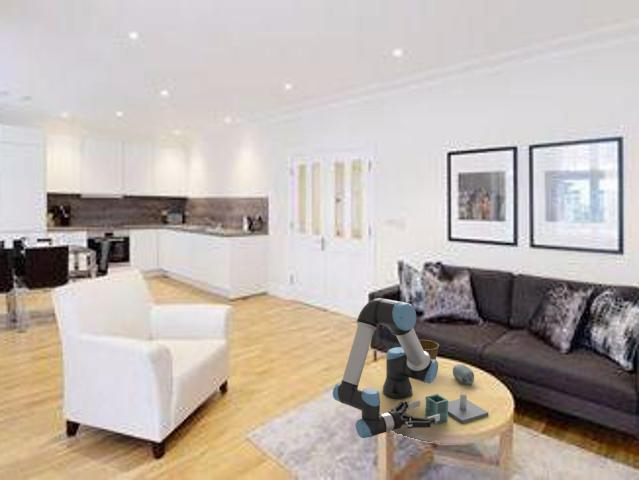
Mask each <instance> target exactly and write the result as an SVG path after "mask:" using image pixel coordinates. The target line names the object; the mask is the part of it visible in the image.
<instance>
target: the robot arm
mask: <svg viewBox="0 0 639 480" xmlns="http://www.w3.org/2000/svg"><path fill="white" fill-rule="evenodd" d="M416 323H417V313H416V310H415V307H414V306H413V305H412V304H411V303H408V302H405V301H398V300H395V299H394V300H392V299H387V298H383V297H376V298H374V299H371V300H369V302H367V303H366V304H365V305H364V306H363V308H362V309H361V311H360V312H359V315H358V316H357V319H356V324H357V326H356V327H357V328H356V331H355V335H354V339H353V342H352V344H351V348H350V351H349V355H348V359H347V362H346V365H345V369H344V373H343V375H342V379H341V382H339V383H336V384H335V385H334V387H333V389H332V397H333V399H334V400H335V401H337V402H339V403H341V404H343V405H347V406H349V407H352V408H354V409H357V410H358V411H361V418H360V419H357V420H356V423H355V430H356V433H357V435H358V436H359V437H360V438H362V439H367V438H372V437H375V436H377V435H380V434H384V433H388V432H392V431H395V430H399V429H401V428H402V426H403V425H405V426H407V428H408V429H416V428H417V429H422V428H423V429H424V428H425V429H429V428H431V424H434V422H436V421H440V414H437V415H433V416H430V417H427V418H425V417H424V418H423V417H418V416H413V415H410V414H408V413H407V410H412V409H417V408H420V407H421V401H420V400H415V401H412V402H408V401H400V402H399V403H398V404H397V405H395V406H394V407H392V408H390V411H387V412H383V413H381V399H380V395H381V394H380V392H379V390H378V389H376V388H373V387H372V388H370V387H367V388H364V389H363V390H360V389H358V388H359V383H360V380H361V377H362V374H363V371H364V367H365V363H366V360H367V357H368V353H369V349H370V346H371V343H372V338H373V336H374V332H375V331H376V330H377V329H378V326H379V325H381V326H386V327H387V328H388V330H389V332H390V333H391V334H392V335H394V336H396V338H397V340H398V342H399V345H400V346H398V347H392V348H390V349H388V350H387V352H386V361H385V363H386V368H385V370H386V373H385V374H386V377H385V381H384V384H383V386H382V393H383V394H384V396H386V397H388V398H391V399H396V400H404V399H408V398H411V396H413V387H412V383H411V380H410V379H413V380H417V381H419V382H422V383H424V384H425V383H427V384H432V383H434V382H435V379H436V378H437V375H438V372H439V362H438V360H435V359H431V358H430V356H429V354H428V353H427V352H426V351H424V350H423V348H422V346H421V344H420V342H419V340H420V339H419V337H418V335H417V334H416V331H415V329H414V327H415V325H416Z"/></svg>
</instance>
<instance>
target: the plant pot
mask: <svg viewBox="0 0 639 480" xmlns="http://www.w3.org/2000/svg"><path fill="white" fill-rule="evenodd" d="M418 340H419V342H420V344H421V346H422V348H423V350H424V351H426V352H427V353H428V354H429V356H430V358H431V359H435V360H436V359H437V356H438V354H439V353H438V352H439V346H440V344H439V343H438V342H436V341H433V340H431V339H430V340H427V339H418ZM436 361H437V360H436Z"/></svg>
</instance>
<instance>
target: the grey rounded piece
mask: <svg viewBox="0 0 639 480" xmlns="http://www.w3.org/2000/svg"><path fill="white" fill-rule="evenodd" d="M452 375H453V377H454V378H455V379H456V381H459V382H460V383H462V384H464V385H472V384H473V383H474V381H475V373H474V372H473V370H472V369H471V368H470V367H468V366H466V365H464V364H459V363H458V364H455V365H454V366H453V368H452Z"/></svg>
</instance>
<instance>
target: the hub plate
mask: <svg viewBox="0 0 639 480" xmlns="http://www.w3.org/2000/svg"><path fill="white" fill-rule="evenodd" d="M467 398H468V396H467V394H466V393H464V392H463V393H460V395H459V398H457V399H454V400H449V401H448V416H450V417H451V418H453V419H454V420H456V421H457V422H459V423H461V424H465V423H469V422H471V421H476V420H478V419H481V418H484V417H488V416H489V412H488V411H487V410H485V409H484V408H482V407H481V406H479V405H477V404H475V403H473V402H471V401H470V400H468V399H467Z"/></svg>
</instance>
